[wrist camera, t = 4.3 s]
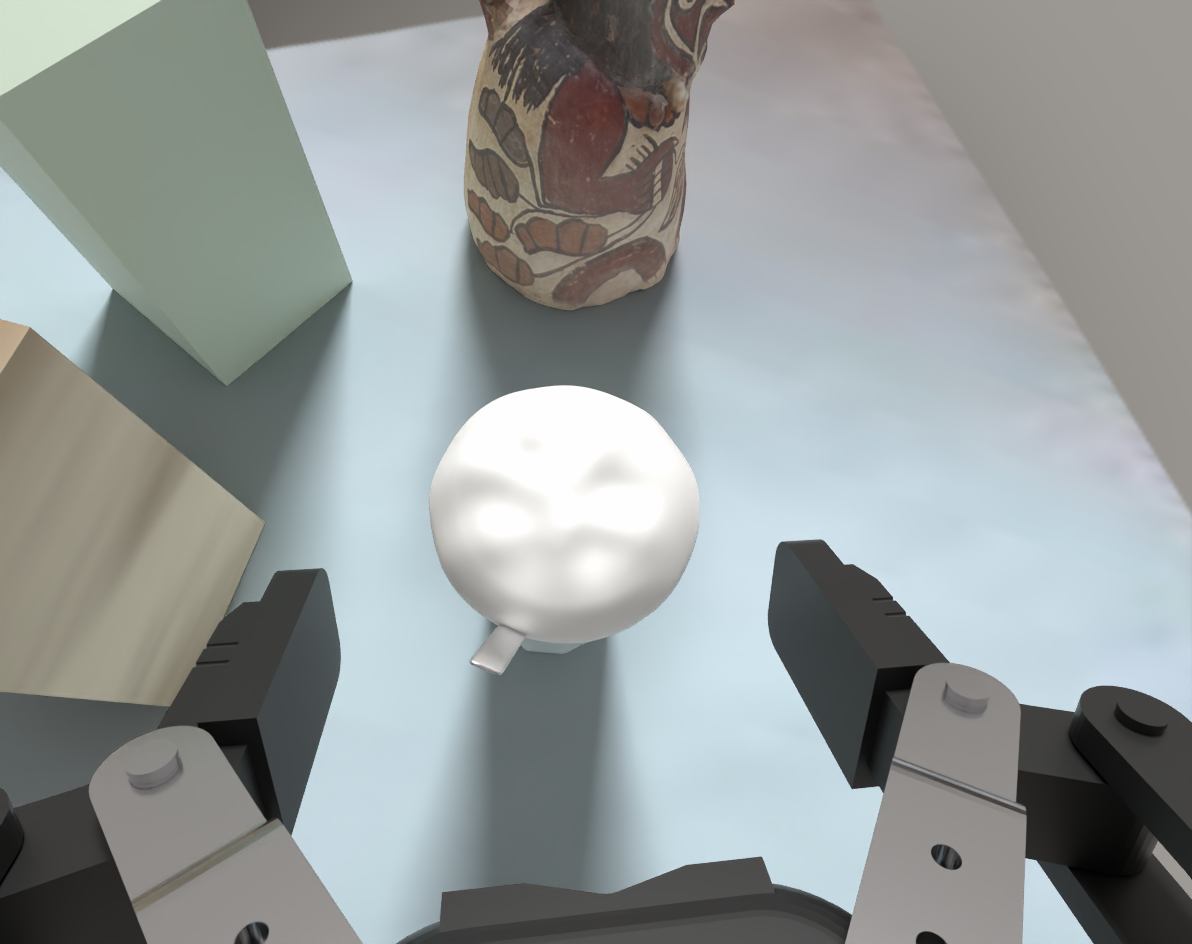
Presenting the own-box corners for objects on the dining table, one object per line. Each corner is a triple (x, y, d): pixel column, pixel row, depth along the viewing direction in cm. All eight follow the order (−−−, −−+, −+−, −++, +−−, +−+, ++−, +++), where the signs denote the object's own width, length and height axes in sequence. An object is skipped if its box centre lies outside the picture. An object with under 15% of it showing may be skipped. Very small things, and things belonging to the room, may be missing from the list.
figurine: (637, 343, 23) (746, -41, 12) (431, 266, 23) (343, -181, 12) (703, 182, 25) (844, -260, 14) (517, 114, 26) (511, -371, 14)
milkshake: (424, 669, 19) (322, 600, 9) (508, 492, 21) (495, 287, 11) (584, 738, 18) (646, 739, 9) (655, 552, 20) (765, 395, 11)
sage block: (112, 288, 22) (-199, -52, 12) (242, 193, 23) (54, -171, 14) (227, 386, 21) (-14, 104, 12) (352, 281, 23) (230, -42, 13)
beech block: (-10, 656, 18) (-596, 565, 8) (90, 475, 20) (-305, 237, 10) (183, 707, 18) (-192, 674, 8) (265, 522, 20) (30, 327, 10)
